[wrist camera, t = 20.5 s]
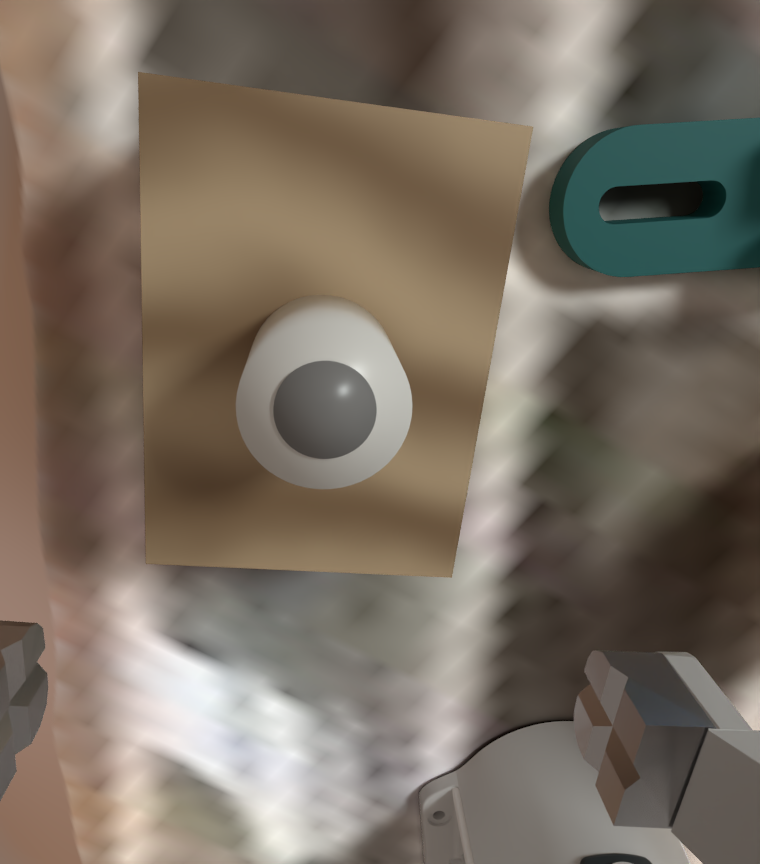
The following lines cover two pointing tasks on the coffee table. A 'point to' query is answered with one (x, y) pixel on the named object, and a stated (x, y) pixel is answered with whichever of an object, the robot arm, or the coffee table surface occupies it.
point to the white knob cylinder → (323, 394)
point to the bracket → (656, 164)
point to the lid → (304, 276)
